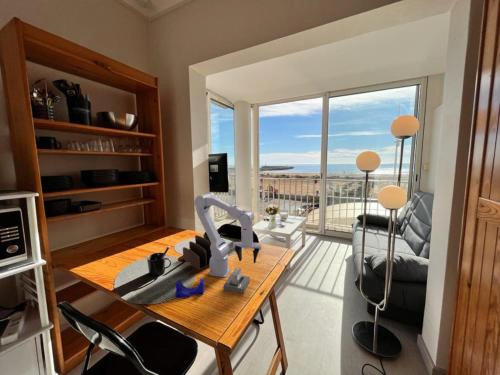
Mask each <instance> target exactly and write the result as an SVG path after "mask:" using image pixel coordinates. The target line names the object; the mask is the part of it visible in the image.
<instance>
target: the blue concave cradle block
mask: <svg viewBox="0 0 500 375" xmlns="http://www.w3.org/2000/svg"><path fill="white" fill-rule="evenodd" d="M174 294H175V299H182V298H190V296H195V295H196V296H197V295H199V296H201V295H204V294H205V278H200V280H199V284H198V285H197V286H195V287H191V288H190V287H189V288H188V287H186V286H185V285H183V282H182V279H181V280H180V279H177V280H176V283H175V293H174Z"/></svg>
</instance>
